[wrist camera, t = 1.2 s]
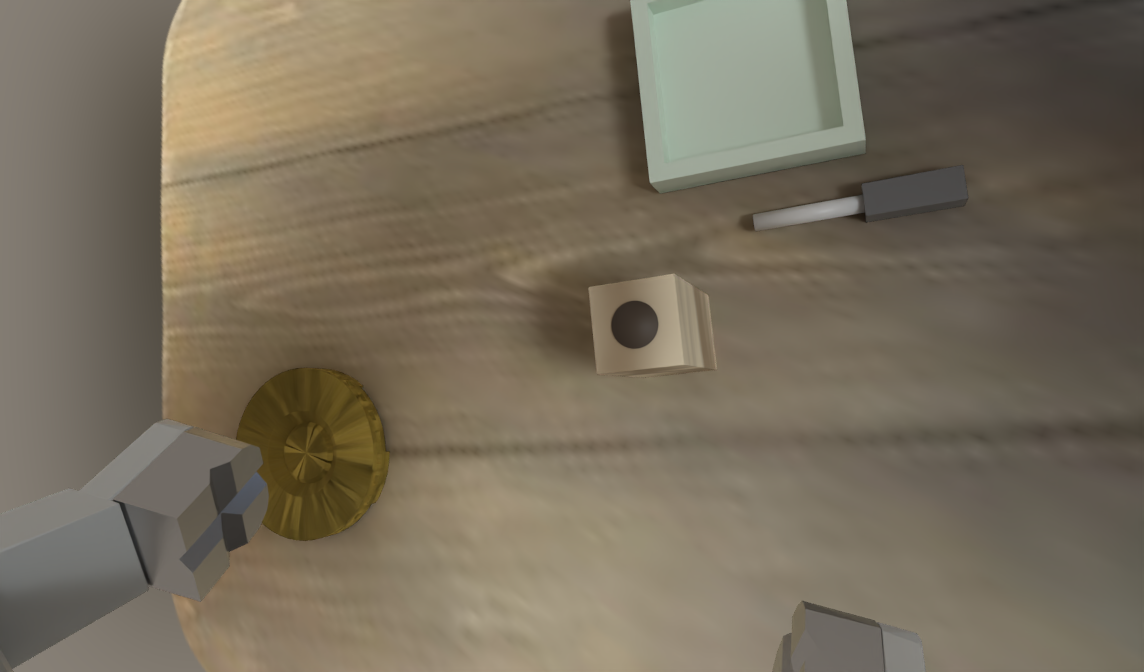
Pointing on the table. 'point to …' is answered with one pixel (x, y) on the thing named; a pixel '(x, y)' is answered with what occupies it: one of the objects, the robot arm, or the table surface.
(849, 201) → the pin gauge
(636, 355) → the bored block
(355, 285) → the table surface
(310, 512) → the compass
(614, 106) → the table surface
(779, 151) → the tray
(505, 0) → the table surface
